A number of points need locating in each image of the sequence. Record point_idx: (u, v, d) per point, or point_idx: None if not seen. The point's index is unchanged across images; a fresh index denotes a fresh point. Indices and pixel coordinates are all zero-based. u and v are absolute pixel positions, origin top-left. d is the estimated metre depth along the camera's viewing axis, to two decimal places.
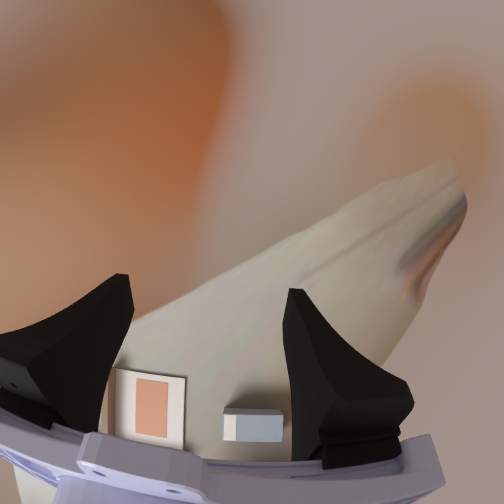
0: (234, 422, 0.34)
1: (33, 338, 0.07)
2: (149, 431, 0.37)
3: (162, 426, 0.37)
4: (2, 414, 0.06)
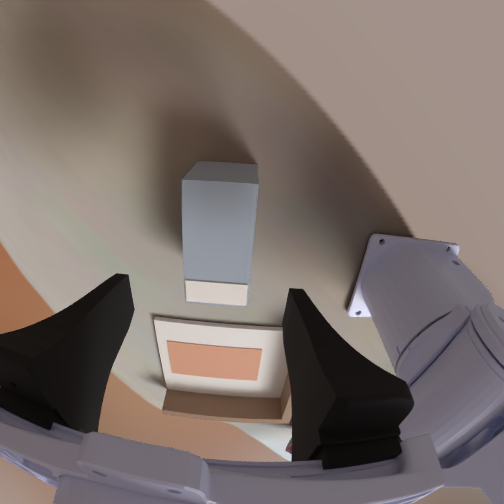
0: (203, 284, 0.18)
1: (32, 338, 0.07)
2: (252, 367, 0.28)
3: (241, 353, 0.27)
4: (2, 414, 0.06)
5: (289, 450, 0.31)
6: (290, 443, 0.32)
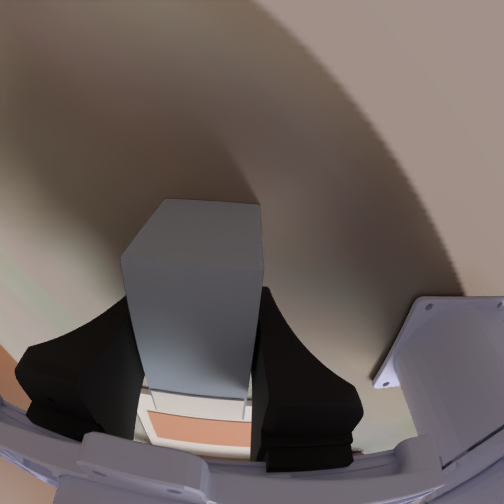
0: (177, 395, 0.11)
1: (71, 349, 0.07)
2: None
3: (238, 426, 0.20)
4: (2, 414, 0.06)
5: None
6: None
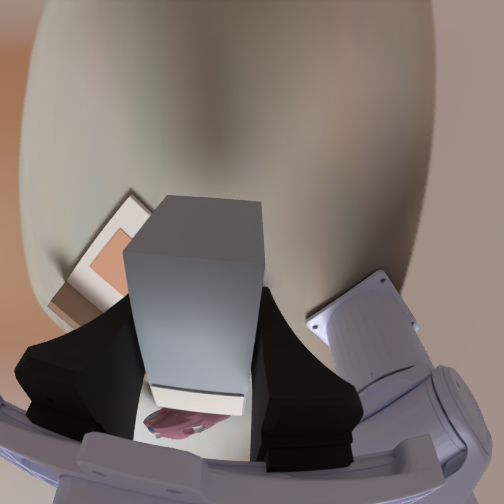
0: (177, 391, 0.11)
1: (71, 349, 0.07)
2: None
3: None
4: (2, 414, 0.06)
5: (150, 425, 0.27)
6: (153, 418, 0.28)
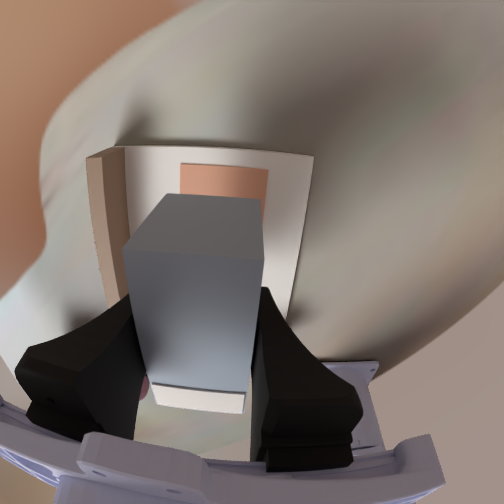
0: (177, 389, 0.11)
1: (72, 349, 0.07)
2: None
3: None
4: (2, 414, 0.06)
5: None
6: None
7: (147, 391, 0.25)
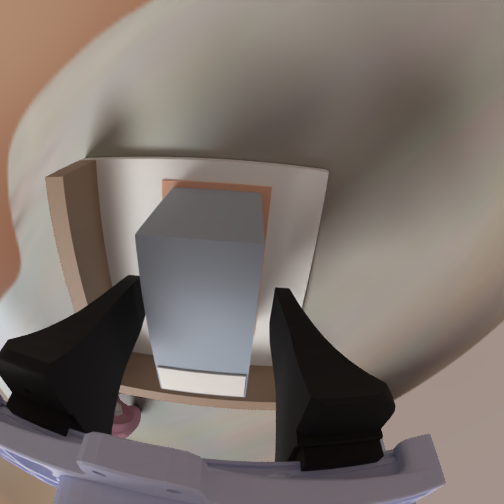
0: (182, 372, 0.12)
1: (47, 342, 0.07)
2: None
3: None
4: (2, 414, 0.06)
5: None
6: None
7: None
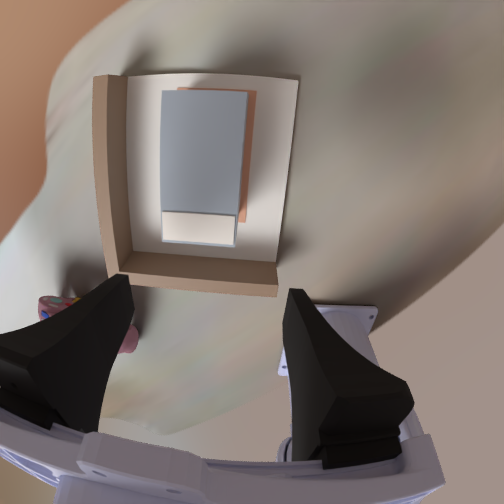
0: (182, 216, 0.15)
1: (33, 338, 0.07)
2: None
3: None
4: (2, 414, 0.06)
5: (47, 309, 0.20)
6: (54, 303, 0.21)
7: (136, 343, 0.25)
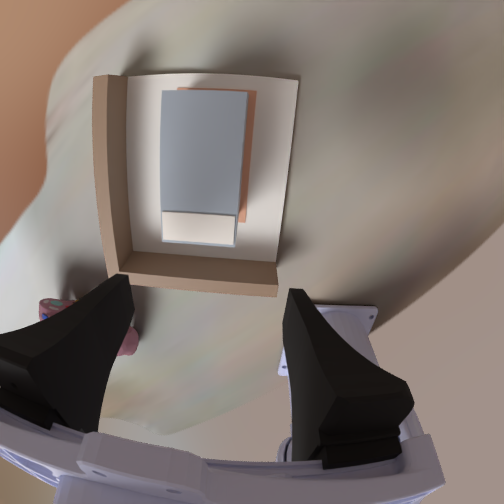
0: (182, 216, 0.15)
1: (33, 338, 0.07)
2: None
3: None
4: (2, 414, 0.06)
5: (48, 312, 0.20)
6: (55, 306, 0.21)
7: (136, 346, 0.25)
